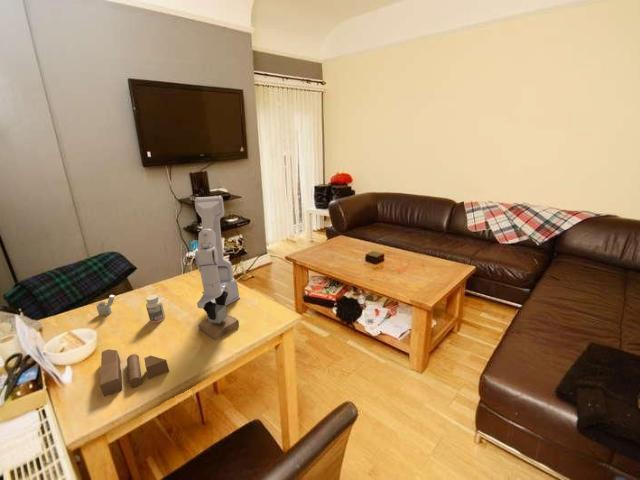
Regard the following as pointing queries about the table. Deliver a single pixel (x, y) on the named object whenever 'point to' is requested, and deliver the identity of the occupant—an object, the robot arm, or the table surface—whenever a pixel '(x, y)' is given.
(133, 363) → the wooden block set
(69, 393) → the table surface
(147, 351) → the table surface
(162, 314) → the pill bottle
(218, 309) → the grey cube
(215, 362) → the table surface
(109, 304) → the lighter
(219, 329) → the walnut block
